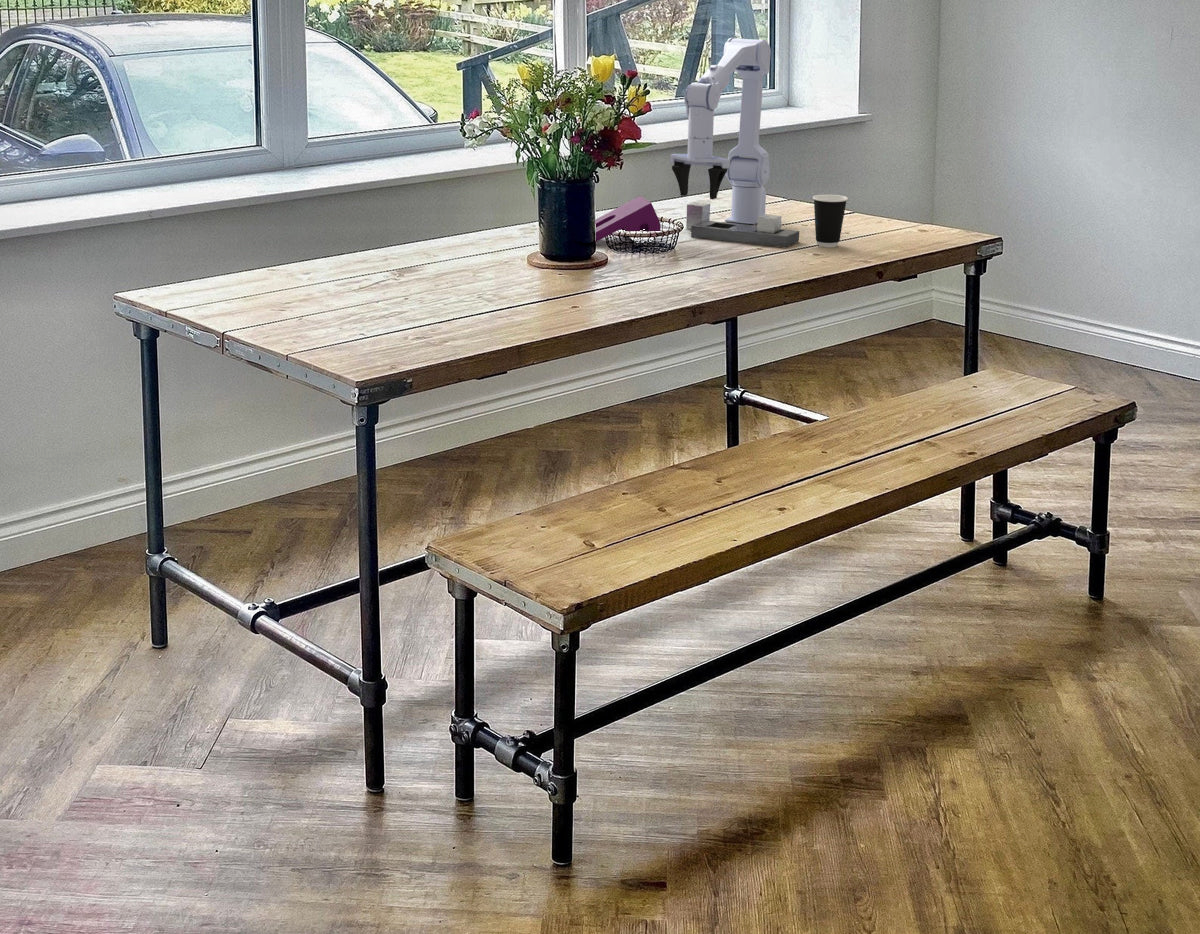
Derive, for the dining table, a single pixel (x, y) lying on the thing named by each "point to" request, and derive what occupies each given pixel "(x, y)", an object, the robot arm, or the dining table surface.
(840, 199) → the dixie cup
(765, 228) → the off-white rectangular block
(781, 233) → the rail
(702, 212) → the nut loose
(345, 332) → the dining table surface
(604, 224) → the mounting bracket
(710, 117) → the robot arm
